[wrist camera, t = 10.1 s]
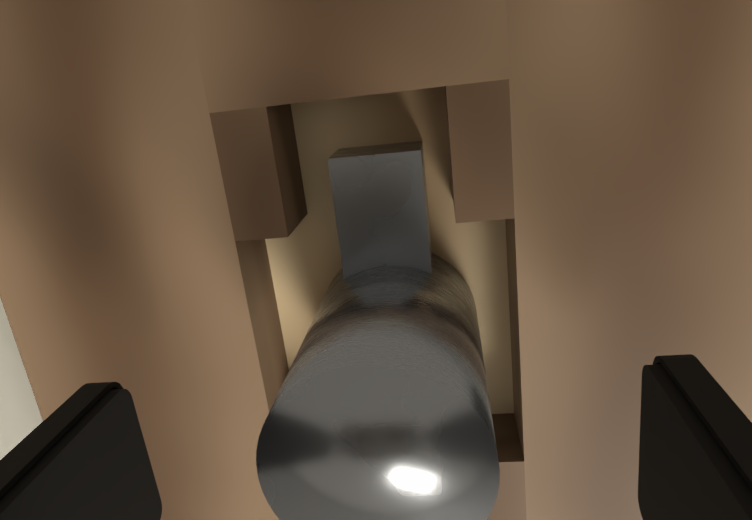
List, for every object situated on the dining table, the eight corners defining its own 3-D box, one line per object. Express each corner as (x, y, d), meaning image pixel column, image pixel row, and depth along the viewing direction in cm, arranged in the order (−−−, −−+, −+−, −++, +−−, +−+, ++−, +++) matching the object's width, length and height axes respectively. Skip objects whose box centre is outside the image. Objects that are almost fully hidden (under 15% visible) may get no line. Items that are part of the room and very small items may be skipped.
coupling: (485, 460, 16) (510, 673, 11) (345, 463, 17) (298, 668, 11) (465, 136, 13) (485, 193, 8) (298, 152, 14) (203, 218, 8)
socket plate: (795, -131, 12) (885, -178, 9) (725, 568, 17) (770, 649, 15) (-18, -8, 14) (-110, -21, 12) (157, 570, 20) (119, 640, 17)
